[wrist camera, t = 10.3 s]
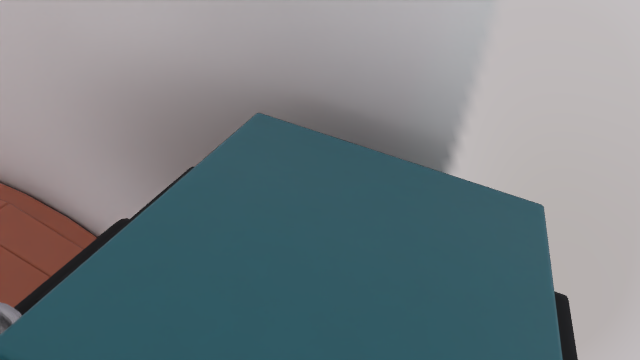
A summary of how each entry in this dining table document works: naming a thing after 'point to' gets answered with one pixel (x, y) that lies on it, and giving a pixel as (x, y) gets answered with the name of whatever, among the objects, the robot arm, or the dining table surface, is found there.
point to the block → (307, 265)
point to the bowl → (33, 243)
